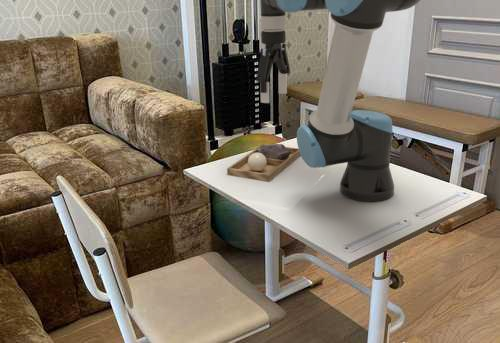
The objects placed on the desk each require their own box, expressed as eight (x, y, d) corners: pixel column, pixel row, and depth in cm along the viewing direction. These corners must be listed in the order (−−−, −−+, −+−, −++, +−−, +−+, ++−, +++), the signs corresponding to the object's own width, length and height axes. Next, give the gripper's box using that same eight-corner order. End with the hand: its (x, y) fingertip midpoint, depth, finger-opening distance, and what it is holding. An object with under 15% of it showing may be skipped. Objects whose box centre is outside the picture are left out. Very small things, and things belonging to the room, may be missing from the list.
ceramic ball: (270, 168, 159) (269, 151, 157) (261, 175, 154) (261, 157, 152) (253, 166, 162) (252, 148, 160) (244, 172, 157) (244, 154, 155)
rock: (269, 150, 175) (268, 138, 174) (294, 157, 168) (294, 145, 166) (253, 157, 170) (252, 144, 168) (278, 164, 162) (277, 151, 161)
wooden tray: (301, 157, 171) (301, 149, 170) (269, 184, 150) (269, 175, 149) (263, 151, 178) (263, 143, 176) (227, 177, 156) (227, 168, 155)
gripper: (278, 25, 165) (279, 89, 173) (243, 34, 145) (246, 105, 152) (299, 26, 162) (299, 90, 170) (266, 35, 141) (268, 107, 149)
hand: (274, 97), depth 161 cm, fingers open, 13 cm apart
